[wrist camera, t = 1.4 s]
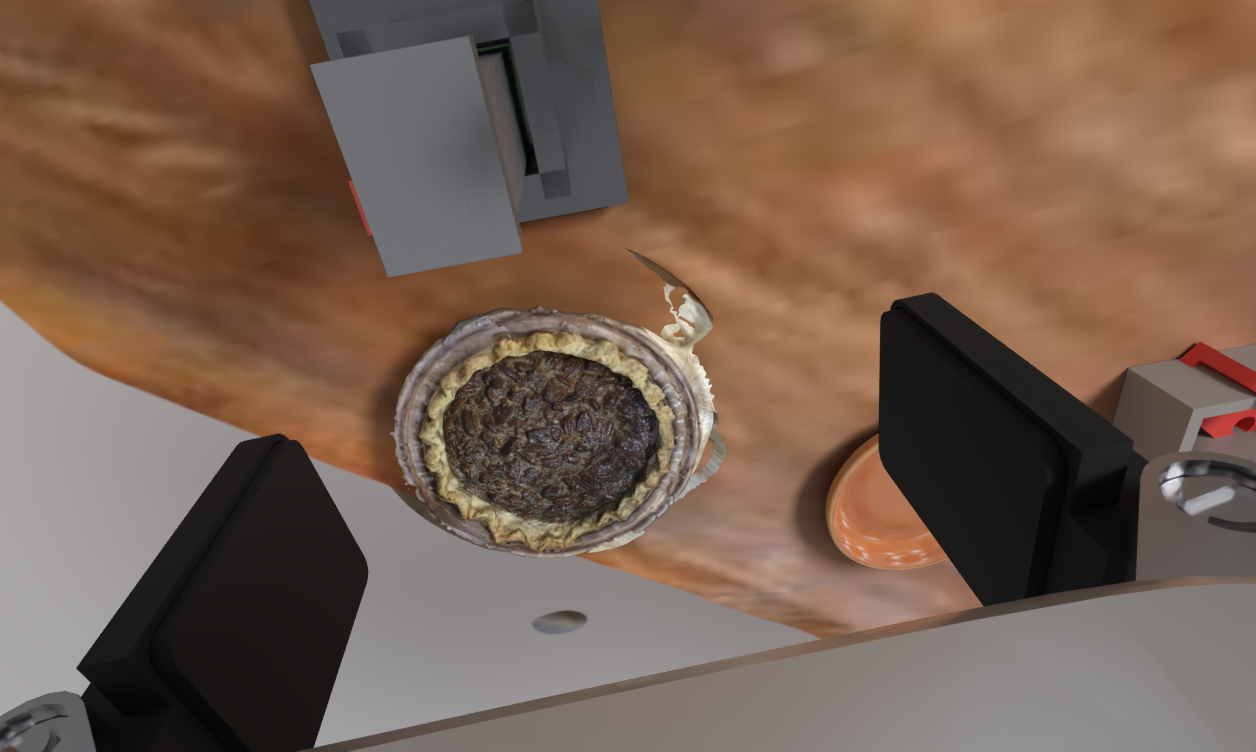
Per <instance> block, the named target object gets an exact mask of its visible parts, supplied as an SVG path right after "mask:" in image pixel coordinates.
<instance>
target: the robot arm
mask: <svg viewBox="0 0 1256 752" xmlns="http://www.w3.org/2000/svg"><path fill="white" fill-rule="evenodd" d="M1133 445H1134V441H1133V440H1132V439H1131V438H1129V437H1128V436H1127V435H1125V434H1124V433H1123V432H1121V431H1120V430H1119V429H1117V428H1116V427H1115V426H1113V425H1112V424H1111V423H1109V422H1108V421H1106V420H1105V419H1104V418H1102V417H1101V416H1100V415H1098V414H1097V413H1096V412H1094V411H1093V410H1092V409H1090V408H1089V407H1088V406H1086V405H1085V404H1084V403H1082V402H1081V401H1080V400H1078V399H1077V398H1076V397H1074V396H1073V395H1072V394H1070V393H1069V392H1067V391H1066V390H1065V389H1063V388H1062V387H1061V386H1059V385H1058V384H1057V383H1055V382H1054V381H1053V380H1051V379H1050V378H1049V377H1047V376H1046V375H1045V374H1043V373H1042V372H1041V371H1039V370H1038V369H1037V368H1035V367H1034V366H1033V365H1031V364H1030V363H1029V362H1027V361H1026V360H1024V359H1023V358H1022V357H1020V356H1019V355H1018V354H1016V353H1015V352H1014V351H1012V350H1011V349H1010V348H1008V347H1007V346H1006V345H1004V344H1003V343H1002V342H1000V341H999V340H998V339H996V338H995V337H994V336H992V335H991V334H990V333H988V332H987V331H986V330H984V329H983V328H981V327H980V326H979V325H977V324H976V323H975V322H973V321H972V320H971V319H969V318H968V317H967V316H965V315H964V314H963V313H961V312H960V311H959V310H957V309H956V308H955V307H953V306H952V305H951V304H949V303H948V302H947V301H945V300H944V299H943V298H941V297H940V296H938V295H937V294H935V293H927V294H922V295H918V296H913V297H908V298H904V299H899V300H895V301H894V302H893V303H892V306H891V308H890V311H887V312H884V313H883V314H882V316H881V322H880V379H879V441H878V447H879V455H880V459H881V462H882V464H883V467H884V468H885V470H886V472H887V473H888V474H889V476H890V477H891V479H892V480H893V481H894V483H895V484H896V485H897V487H898V488H899V490H900V491H901V492H902V494H903V495H904V497H905V498H906V499H907V501H908V502H909V504H910V505H911V506H912V508H913V509H914V510H915V512H916V513H917V515H918V516H919V517H920V519H921V520H922V522H923V523H924V524H925V526H926V527H927V528H928V530H929V531H930V533H931V534H932V535H933V537H934V538H935V540H936V541H937V542H938V544H939V545H940V546H941V548H942V549H943V551H944V552H945V553H946V555H947V556H948V558H949V559H950V560H951V562H952V563H953V565H954V566H955V567H956V569H957V570H958V571H959V573H960V574H961V576H962V577H963V578H964V580H965V581H966V583H967V584H968V585H969V587H970V588H971V589H972V591H973V592H974V594H975V595H976V596H977V598H978V599H979V601H980V602H981V603H982V605H983V606H984V607H980V608H974V609H969V610H964V611H959V612H953V613H948V614H943V615H938V616H932V617H927V618H922V619H917V620H912V621H908V622H903V623H898V624H893V625H888V626H883V627H879V628H874V629H869V630H864V631H859V632H855V633H850V634H845V635H840V636H835V637H830V638H826V639H821V640H816V641H811V642H806V643H802V644H797V645H792V646H787V647H782V648H778V649H773V650H768V651H763V652H758V653H754V654H748V655H744V656H739V657H734V658H729V659H724V660H720V661H715V662H710V663H705V664H701V665H696V666H691V667H686V668H682V669H677V670H672V671H668V672H663V673H658V674H653V675H649V676H644V677H639V678H635V679H630V680H626V681H621V682H616V683H612V684H606V685H602V686H597V687H593V688H588V689H583V690H578V691H574V692H569V693H564V694H560V695H555V696H550V697H546V698H541V699H536V700H531V701H527V702H522V703H517V704H513V705H509V706H503V707H499V708H494V709H490V710H485V711H480V712H475V713H471V714H467V715H462V716H457V717H453V718H448V719H443V720H439V721H434V722H430V723H426V724H421V725H416V726H411V727H407V728H402V729H398V730H393V731H389V732H384V733H379V734H375V735H370V736H366V737H361V738H357V739H352V740H347V741H343V742H339V743H334V744H329V745H325V746H321V747H316V748H314V745H315V742H316V738H317V735H318V732H319V729H320V726H321V723H322V720H323V717H324V714H325V711H326V708H327V704H328V701H329V698H330V695H331V692H332V689H333V686H334V683H335V680H336V676H337V674H338V670H339V667H340V664H341V661H342V658H343V655H344V652H345V649H346V646H347V643H348V640H349V636H350V633H351V630H352V627H353V624H354V620H355V618H356V615H357V612H358V608H359V605H360V602H361V599H362V596H363V593H364V590H365V587H366V584H367V579H368V566H367V562H366V559H365V557H364V555H363V553H362V551H361V550H360V548H359V546H358V544H357V543H356V541H355V539H354V537H353V535H352V534H351V532H350V530H349V529H348V526H347V525H346V523H345V521H344V519H343V518H342V516H341V514H340V512H339V511H338V509H337V507H336V505H335V503H334V501H333V500H332V498H331V496H330V494H329V493H328V491H327V489H326V487H325V485H324V484H323V482H322V480H321V479H320V477H319V475H318V473H317V471H316V469H315V468H314V466H313V464H312V462H311V460H310V459H309V457H308V455H307V453H306V452H305V450H304V448H303V447H302V445H301V444H300V443H299V442H298V441H296V440H289V439H288V438H287V437H286V436H284V435H282V434H274V435H270V436H265V437H261V438H256V439H251V440H247V441H243V442H240V443H239V444H238V445H237V446H236V447H235V449H234V450H233V452H232V453H231V455H230V456H229V457H228V459H227V460H226V461H225V463H224V464H223V465H222V467H221V468H220V470H219V471H218V472H217V474H216V475H215V477H214V478H213V479H212V481H211V482H210V483H209V485H208V486H207V488H206V489H205V490H204V492H203V493H202V494H201V496H200V497H199V499H198V500H197V501H196V503H195V504H194V506H193V507H192V508H191V510H190V511H189V513H188V514H187V515H186V517H185V518H184V520H183V521H182V522H181V524H180V525H179V526H178V528H177V529H176V531H175V532H174V533H173V535H172V536H171V538H170V539H169V540H168V542H167V543H166V544H165V546H164V547H163V549H162V550H161V551H160V553H159V554H158V556H157V557H156V558H155V560H154V561H153V562H152V564H151V565H150V567H149V568H148V569H147V571H146V572H145V573H144V575H143V576H142V578H141V579H140V580H139V582H138V583H137V585H136V586H135V587H134V589H133V590H132V592H131V593H130V594H129V596H128V597H127V599H126V600H125V601H124V603H123V604H122V605H121V607H120V608H119V609H118V611H117V612H116V614H115V615H114V616H113V618H112V619H111V621H110V622H109V623H108V625H107V626H106V628H105V629H104V630H103V632H102V633H101V634H100V636H99V637H98V639H97V640H96V641H95V643H94V644H93V646H92V647H91V648H90V650H89V651H88V652H87V654H86V655H85V657H84V658H83V659H82V661H81V662H80V664H79V665H78V666H77V668H76V669H77V670H78V671H79V672H80V673H82V674H83V675H84V676H85V677H86V678H87V679H88V680H89V681H90V682H91V683H90V685H89V686H88V688H87V689H86V691H85V692H84V694H83V695H82V696H81V697H80V696H79V695H78V694H75V693H71V692H67V691H63V692H55V693H48V694H45V695H42V696H40V697H37V698H35V699H32V700H29V701H26V702H25V703H23V704H21V705H19V706H17V707H16V708H14V709H12V710H10V711H8V712H6V713H5V714H3V715H1V716H0V752H1256V462H1253V461H1251V460H1247V459H1243V458H1239V457H1235V456H1231V455H1226V454H1222V453H1212V452H1202V451H1188V452H1174V453H1170V454H1167V455H1163V456H1160V457H1156V458H1155V459H1154V460H1152V461H1151V462H1149V461H1147V460H1146V459H1145V458H1144V457H1142V456H1141V455H1140V454H1138V453H1137V452H1136V451H1134V450H1133Z"/></svg>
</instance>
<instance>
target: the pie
mask: <svg viewBox="0 0 1256 752" xmlns="http://www.w3.org/2000/svg"><path fill="white" fill-rule="evenodd" d="M627 250H628V249H627ZM629 251H630V250H629ZM630 252H631V253H632V254H633V255H634V256H635V257H636V258H638V259H639V260H640V261H641V262H642V263H643V264H645V265H646V266H647V267H648V268H650V269H651V270H652V271H654V272H655V273H657V274H658V275H660V276H661V278H662V280H663V282H664V283H666V284H667V285H666V287H664V289H665V293H664V294H665V295H666V297H665V299H666V301H667V302H669V303H670V305H672V304H671V301H670V300H669V296H668V295H669V293H670V291H671V290H673V289H676V288H677V287H680V286H681V287H685V288H686V289H687V290H688V291H689V292H688V294H684V295H683V297H684V298H686V301H685V304H684V305H681V306H680V307H679V312H680V313H679V314H678V316H676V314H677V312H675V311H671V310H672V309H673V307H671V309H670V312H671V313H672V314H674V317H675V318H676V319H675V320H676V321H677V323H676V324H672V325H665V326H664V328H663V330H662V332H661V333H660V334H661V335H662V338H663V339H662V338H661V337H659V336H657V335H656V334H654V333H652V332H651V331H649V330H647V329H645V328H643V327H640V326H637V325H634V324H630V323H624V322H620V321H616V320H613V319H610V318H608V317H605V316H602V315H599V314H594V313H570V312H560V311H557V310H555V309H554V310H551V309H546V308H542V306H540V305H537V306H536V308H533V309H530V310H518V309H511V308H500V309H495V310H493V311H490V312H487V313H485V314H482V315H478V316H475V317H472V318H469V319H466V320H463V321H460V322H458V323H457V324H456V325H455V326H454V328H453V329H452V330H451V331H450V332H449V333H448V334H447V335H446V336H444V337H443V338H441V339H438V340H436V341H435V342H434V344H433V345H432V346H431V347H430V348H429V349H427V350H426V351H425V352H424V353H423V355H422V357H421V359H420V360H419V361H418V362H417V363H416V364H415V366H414V368H413V369H412V371H411V372H410V373H409V374H408V375H407V377H406V379H405V382H404V384H403V386H402V388H401V391H400V393H399V396H398V400H397V404H396V415H395V416H394V418H393V419H394V420H395V428H394V432H391V433H390V434H391V435H392V436H393V437H394V440H395V441H396V448H395V456H396V457H397V458H398V463H397V464H398V466H400V467H401V470H402V472H403V479H405V480H406V483H405V484H404V485H405V486H406V485H411V486H416V488H417V489H416V491H415V493H416V495H417V497H418V498H416V497H414V496H412V495H410V494H407V493H405V492H403V491H401V490H398V489H396V488H393V487H391V486H390V487H391V488H392V489H393V490H394V492H395V493H396V494H397V495H398V496H399V497H400V498H401V499H402V500H403V501H404V502H405V503H406V504H407V505H408V506H409V507H410V508H412V509H413V510H414V511H415V512H416V513H418V514H419V515H420V516H421V517H423V518H424V519H426V520H427V521H429V522H430V523H432V524H433V525H435V526H437V527H439V528H441V529H442V530H444V531H446V532H448V533H450V534H452V535H454V536H456V537H458V538H460V539H462V540H465V541H467V542H470V543H472V544H475V545H478V546H479V547H482V548H485V549H489V550H495V551H501V552H510V553H511V554H516V555H519V556H523V557H526V556H528V557H534V558H547V557H548V558H560V557H570V556H573V555H577V554H580V553H583V552H585V551H587V550H591V551H590V552H589V553H591V552H597V551H602V550H607V549H611V548H615V547H618V546H622V545H624V544H626V543H628V542H630V541H632V540H633V539H635V538H637V537H639V536H641V535H642V534H644V530H645V529H646V528H647V527H648V526H649V525H651V524H652V522H653V521H654V520H655V519H656V518H657V517H658V519H660V518H661V517H662V516H663V515H665V514H666V513H667V511H668V509H669V507H670V505H671V504H672V503H676V501H677V499H682V498H683V497H684V495H685V494H686V493H687V492H688V491H690V490H691V489H696V486H699V485H700V482H705V481H706V480H707V479H708V478H709V476H713V475H714V473H715V472H717V470H718V468H719V466H720V463H721V462H722V461H723V460H725V458H726V455H727V450H726V446H725V442H722V441H721V439H722V436H721V435H720V434H719V433H718V432H717V431H716V425H718V424H719V423H718V422H717V421H718V413H717V412H716V411H715V409H714V406H713V403H712V399H713V398H714V395H712V394H710V388H711V386H712V385H709V386H708V381H709V380H710V379H707V378H705V376H706V372H705V371H704V369H703V366H700V365H699V360H698V357H697V356H696V355H694V354H692V350H693V347H694V344H695V343H696V342H697V341H700V340H701V339H702V338H703V337H705V336H706V335H707V333H708V332H709V331H710V330H711V329H712V328H713V316H712V315H711V313H710V312H709V311H708V309H707V308H706V307H705V305H704V304H703V303H702V302H701V300H700V299H699V298H698V297H697V296H696V294H695V293H694V292H693V291H692V290H691V289H690V288H689V287H688V286H686V285H685V284H684V283H683V282H681V281H680V280H679V279H677V278H676V277H675V276H673V275H672V274H671V273H669V272H668V271H666V270H665V269H663V268H662V267H661V266H659V265H657V264H655V263H654V262H652V261H650V260H649V259H647V258H645V257H643V256H641V255H639V254H637V253H635V252H633V251H630ZM679 316H681V317H684V318H685V319H687V320H688V321H689V322H691V323H692V322H693V323H694V326H695V327H694V328H693V327H689V325H688V324H687V323H686V322H685V321H682V320H679V319H678V317H679ZM679 329H681V330H682V333H683V337H681V338H680V337H675V336H674V335H673V333H676V332H677V331H679ZM666 340H669V342H667V341H666ZM676 341H678V342H676ZM709 437H710V438H711V439H712V440H713V441H714V447H713V456H712V458H711V459H710V461H709V462H708V463H707V464H706V465H705V466H704V468H703V469H701V470H700V471H699V472H697V473H695V474H693V473H694V471H695V469H696V467H697V465H698V463H699V461H700V458H701V456H702V453H703V451H704V449H705V445H706V443H707V440H708V438H709ZM692 474H693V475H692ZM408 489H409V488H408ZM426 502H427V503H426ZM614 538H615V539H614ZM606 541H607V542H606ZM603 542H606V543H604V544H602V543H603ZM601 544H602V545H601Z"/></svg>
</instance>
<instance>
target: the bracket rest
mask: <svg viewBox="0 0 1256 752" xmlns="http://www.w3.org/2000/svg"><path fill="white" fill-rule="evenodd" d="M1218 352H1220V353H1222V354H1224V355H1226V356H1228V357H1229V358H1231V359H1233V360H1235V361H1237V362H1239V363H1241V364H1242V365H1244V366H1246V367H1248V368H1250V369H1252V370H1254V371H1255V372H1256V344H1254V345H1249V346H1243V347H1238V348H1233V349H1227V350H1222V351H1218ZM1179 359H1180V358H1179ZM1179 359H1174V360H1168V361H1163V362H1158V363H1152V364H1147V365H1142V366H1136V367H1131V368H1128V371H1127V374H1126V378H1125V381H1124V385H1123V388H1122V392H1121V395H1120V399H1119V402H1118V406H1117V409H1116V413H1115V416H1114V420H1113V423H1112V425H1113V426H1115V427H1116V428H1117V429H1119V430H1120V431H1121V432H1123V433H1124V434H1125V435H1127V436H1128V437H1129V438H1131V439H1132V440H1133V441H1134V445H1133V450H1134V451H1136V452H1137V453H1138V454H1140V455H1141V456H1142V457H1144V458H1145V459H1146V460H1147V461H1149V462H1151V461H1152V460H1154V459H1155V458H1156V457H1160V456H1163V455H1167V454H1170V453H1174V452H1188V451H1202V452H1212V453H1222V454H1226V455H1231V456H1235V457H1239V458H1243V459H1247V460H1251V461H1253V462H1256V430H1254V431H1249V432H1245V431H1243V430H1241V429H1240V428H1238V427H1236V426H1234V427H1233V433H1234V434H1233V435H1228V436H1223V437H1217V438H1213V437H1212V436H1210V435H1209V434H1207V433H1206V432H1204V431H1203V430H1201V431H1199V429H1200V426H1201V423H1202V421H1203V418H1208V417H1213V416H1219V415H1224V414H1229V413H1235V412H1240V411H1245V410H1250V409H1256V393H1254V392H1253V391H1251V390H1249V389H1247V388H1246V387H1244V386H1242V385H1240V384H1238V383H1237V382H1235V381H1233V380H1231V379H1230V378H1228V377H1226V376H1224V375H1222V374H1221V373H1219V372H1217V371H1215V370H1214V369H1212V368H1210V367H1208V366H1207V365H1200V366H1194V367H1190V366H1188V365H1186V364H1185V363H1183V362H1181V361H1179Z"/></svg>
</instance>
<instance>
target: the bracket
mask: <svg viewBox="0 0 1256 752" xmlns="http://www.w3.org/2000/svg"><path fill="white" fill-rule="evenodd" d="M1179 361H1181V362H1183V363H1185V364H1186V365H1188V366H1190V367H1194V366H1200V365H1207V366H1208V367H1210V368H1212V369H1214V370H1215V371H1217V372H1219V373H1221V374H1222V375H1224V376H1226V377H1228V378H1230V379H1231V380H1233V381H1235V382H1237V383H1238V384H1240V385H1242V386H1244V387H1246V388H1247V389H1249V390H1251V391H1253V392H1254V393H1256V372H1255V371H1254V370H1252V369H1250V368H1248V367H1246V366H1244V365H1242V364H1241V363H1239V362H1237V361H1235V360H1233V359H1231V358H1229V357H1228V356H1226V355H1224V354H1222V353H1220V352H1218V351H1217V350H1215V349H1213V348H1211V347H1209V346H1207V345H1205V344H1204V343H1202V342H1200V343H1198V344H1197V345H1196V346H1195V347H1194V348H1192V349H1191V350H1190V351H1189V352H1188V353H1186V354H1185V355H1184V356H1183V357H1182V358H1180V359H1179ZM1234 426H1236V427H1238V428H1240V429H1241V430H1243V431H1245V432H1249V431H1254V430H1256V409H1250V410H1245V411H1240V412H1235V413H1229V414H1224V415H1219V416H1213V417H1208V418H1203V421H1202V423H1201V426H1200V428H1201V429H1202V430H1203V431H1204V432H1206V433H1207V434H1209V435H1210V436H1212V437H1213V438H1217V437H1223V436H1228V435H1233V434H1234V433H1233V427H1234Z"/></svg>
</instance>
